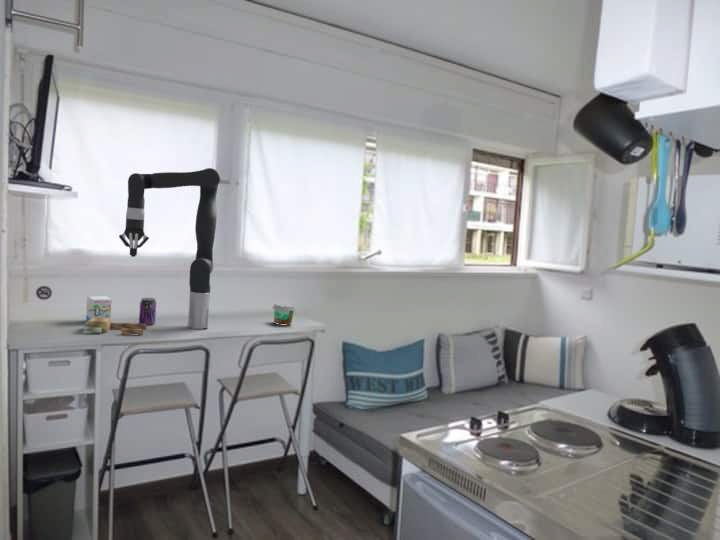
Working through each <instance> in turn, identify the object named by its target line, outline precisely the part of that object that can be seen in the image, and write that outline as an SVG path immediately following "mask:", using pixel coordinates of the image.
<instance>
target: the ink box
mask: <svg viewBox="0 0 720 540" xmlns="http://www.w3.org/2000/svg"><path fill="white" fill-rule="evenodd" d="M112 301H113V299H112V298H110V297H109V296H107V295H102V296H101V295H100V296H99V295H96V296H95V295H92V296H87V299H86V316H85V317H86V318H85V321H86V322H87V321H88V320H90V319H92V318H111V319H112V317H111V316H112Z"/></svg>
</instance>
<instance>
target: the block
mask: <svg viewBox="0 0 720 540" xmlns="http://www.w3.org/2000/svg"><path fill="white" fill-rule="evenodd" d="M111 319H112V317H111V318H92V319H91V320H90V321H89V327H93V328H102V329H101V332H107V331H108V330H109V329H110V323H112V322H111ZM110 330H111V329H110ZM110 330H109V331H110ZM109 331H108V332H109ZM108 332H107V333H108Z"/></svg>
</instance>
